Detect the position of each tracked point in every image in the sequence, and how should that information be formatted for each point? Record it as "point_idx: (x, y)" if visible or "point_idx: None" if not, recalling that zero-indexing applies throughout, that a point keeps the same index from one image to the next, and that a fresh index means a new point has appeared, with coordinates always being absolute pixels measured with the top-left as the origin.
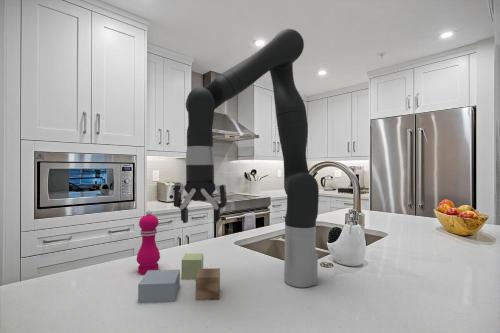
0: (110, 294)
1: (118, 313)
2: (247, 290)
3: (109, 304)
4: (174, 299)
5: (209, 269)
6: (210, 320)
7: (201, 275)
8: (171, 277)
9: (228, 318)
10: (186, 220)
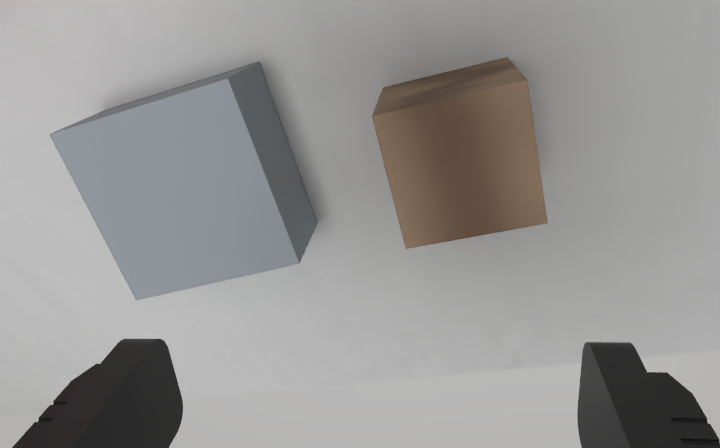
0: (6, 209)
1: (158, 327)
2: (687, 39)
3: (75, 280)
4: (314, 226)
5: (453, 116)
6: (522, 326)
7: (428, 214)
8: (244, 203)
9: (595, 307)
10: (164, 401)
